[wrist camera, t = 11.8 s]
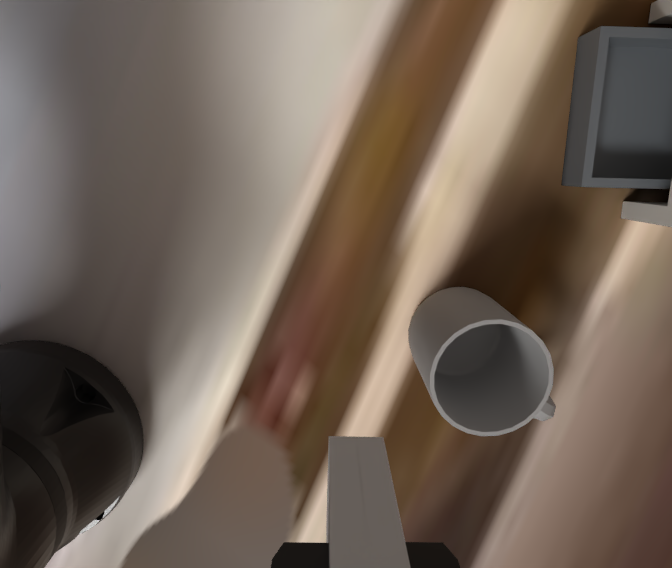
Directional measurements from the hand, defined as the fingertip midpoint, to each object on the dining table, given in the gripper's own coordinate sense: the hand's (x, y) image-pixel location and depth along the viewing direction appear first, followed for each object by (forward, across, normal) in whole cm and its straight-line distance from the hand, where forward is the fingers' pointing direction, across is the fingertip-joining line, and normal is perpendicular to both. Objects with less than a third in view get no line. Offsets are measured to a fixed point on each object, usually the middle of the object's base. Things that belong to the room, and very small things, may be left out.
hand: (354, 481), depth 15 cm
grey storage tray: (+24, -22, -12) cm, 35 cm away
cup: (+25, -10, +4) cm, 27 cm away
